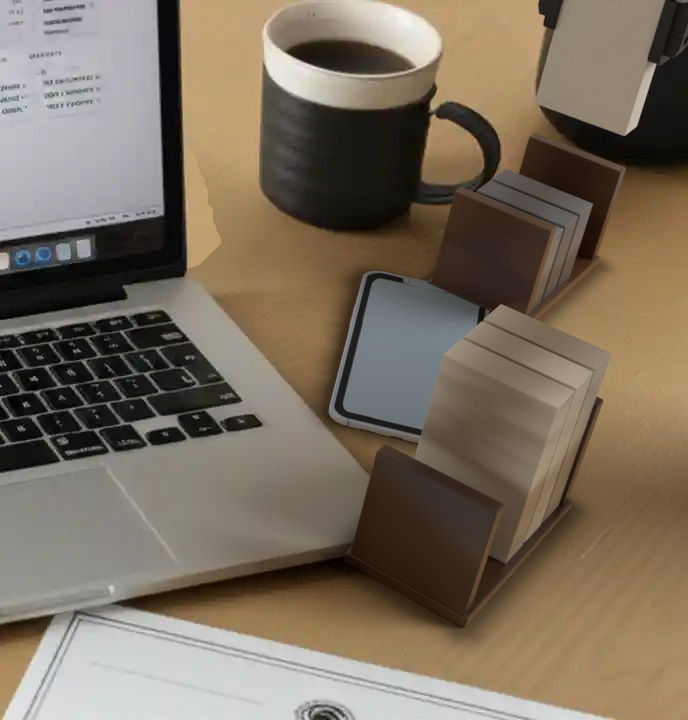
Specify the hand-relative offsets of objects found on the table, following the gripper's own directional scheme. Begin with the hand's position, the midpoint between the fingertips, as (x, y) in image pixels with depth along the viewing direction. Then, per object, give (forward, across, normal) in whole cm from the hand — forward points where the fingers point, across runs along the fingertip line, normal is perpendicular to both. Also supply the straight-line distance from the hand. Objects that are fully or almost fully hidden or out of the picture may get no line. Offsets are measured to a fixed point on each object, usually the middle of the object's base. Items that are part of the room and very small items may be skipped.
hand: (606, 40), depth 92 cm
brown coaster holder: (+14, 0, +3) cm, 15 cm away
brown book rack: (+14, -8, +27) cm, 31 cm away
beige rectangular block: (+5, 0, 0) cm, 5 cm away
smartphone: (+15, +1, +15) cm, 21 cm away
